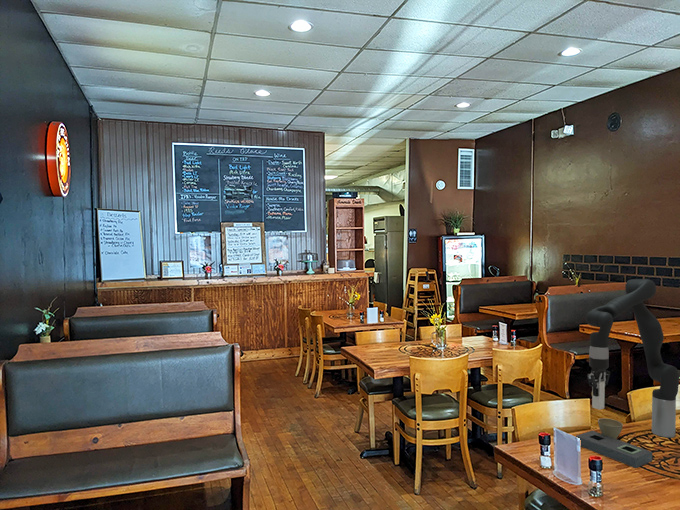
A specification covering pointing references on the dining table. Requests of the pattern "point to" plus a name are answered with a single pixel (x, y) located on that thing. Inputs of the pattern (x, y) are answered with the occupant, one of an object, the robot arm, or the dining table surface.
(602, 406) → the plug peg
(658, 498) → the dining table surface
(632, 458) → the panel
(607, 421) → the flower pot
